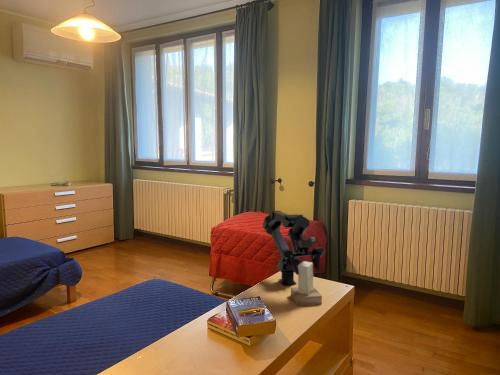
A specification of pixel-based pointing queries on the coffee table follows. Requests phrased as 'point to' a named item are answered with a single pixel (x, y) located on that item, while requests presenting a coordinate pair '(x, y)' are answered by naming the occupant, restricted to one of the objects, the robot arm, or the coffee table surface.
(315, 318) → the coffee table surface
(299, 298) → the grey square block
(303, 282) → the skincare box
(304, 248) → the robot arm
